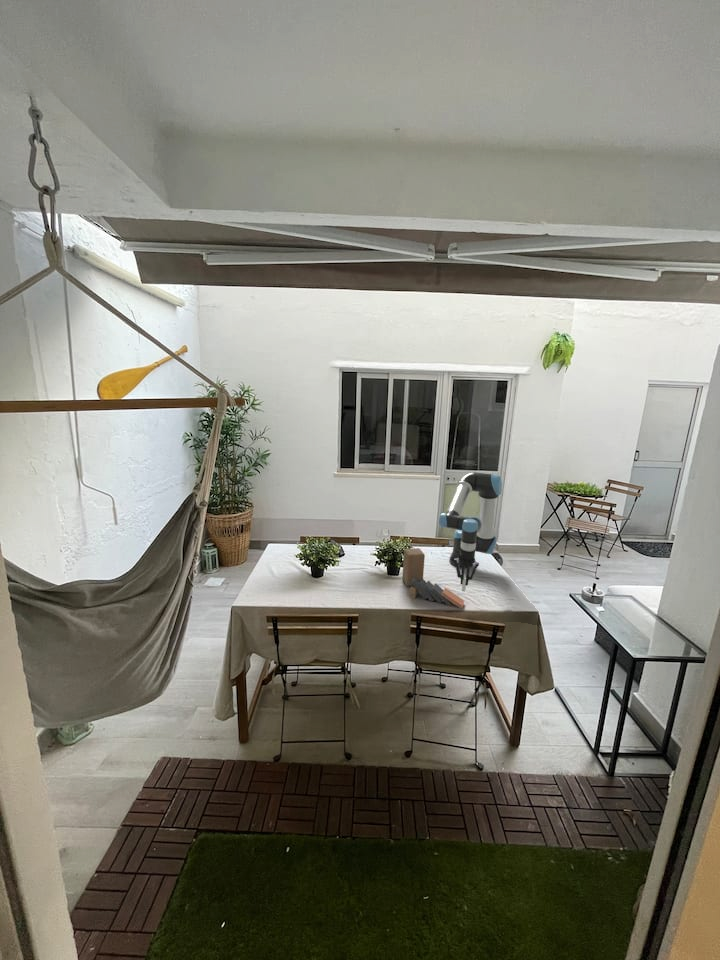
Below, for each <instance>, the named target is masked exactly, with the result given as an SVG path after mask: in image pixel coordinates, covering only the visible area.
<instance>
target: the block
mask: <svg viewBox="0 0 720 960" xmlns="http://www.w3.org/2000/svg"><path fill="white" fill-rule="evenodd" d="M424 570H425V553H424V552H423V551H422V549H421V548H419V547H417V548H416V547H414V548H404V549H403V564H402V580H403V582H404V585H406V586H407V587H411V586H412V583H411V581H412V580H413V578H414V577H415V576H417V577H418V578H419V579H420V580H421V579H422V578H423V579H424Z"/></svg>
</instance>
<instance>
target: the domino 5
mask: <svg viewBox="0 0 720 960" xmlns="http://www.w3.org/2000/svg"><path fill="white" fill-rule="evenodd" d="M443 590H444V591H443V593H442V596H443V597H445V598H446V599H447V600H449V601H450V602H451V603H452V604H453V605H454V606H456V607H458V608H459V609H462V608H463V606H464V603H465V600H464V599H463V598H462V597H460V596H459V595H457V594H456V593H454V592H452V591H451V590H450V589H448V588H447V587H445V588H444V589H443Z"/></svg>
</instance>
